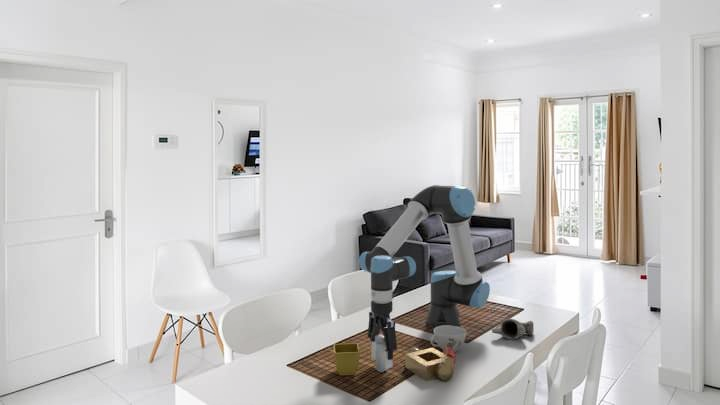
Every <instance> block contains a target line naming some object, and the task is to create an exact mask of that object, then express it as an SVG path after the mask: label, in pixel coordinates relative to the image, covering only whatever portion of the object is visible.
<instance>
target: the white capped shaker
mask: <svg viewBox="0 0 720 405" xmlns="http://www.w3.org/2000/svg"><path fill="white" fill-rule="evenodd" d="M375 342H376V359H375V371H376V370H377V372H378V371H380V372H379V373H385V372H384V371H386V372H388V371H389V368H388V369H385V350H386V345H385V341H384V336H383V333H382V334H380V333H379V335H376V336H375ZM387 370H388V371H387Z"/></svg>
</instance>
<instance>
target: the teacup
mask: <svg viewBox="0 0 720 405" xmlns="http://www.w3.org/2000/svg"><path fill="white" fill-rule="evenodd" d="M467 332H468V331H467V329H466V328H465V327H462V326H451V325H443V326H438V327H434V329H433V335H431V337H430V345H432V346H433V348H435V347H436V348H437V347H438V348H440V349H441V350H442V352H443V351H444V349H447V348H450V349H452V350H453V352H454V353H456V352H458V350H459V349H461V347H462V346H463V345H464V343H465V340H466V337H467ZM434 339H435V341H436V344H435V343H434V342H433V340H434Z"/></svg>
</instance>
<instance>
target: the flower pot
mask: <svg viewBox="0 0 720 405" xmlns="http://www.w3.org/2000/svg"><path fill="white" fill-rule="evenodd" d="M332 345H333V356H334V362H335V368H336V372H337V373H338V375H339V376H341V375H342V376H354V375H356V373H357V371H358V368H359V364H360V355H361V354H360V351H361V350H360V347H359V343H357V342H356V343H355V342H354V343H353V342H351V343H335V344H334V343H333V344H332Z"/></svg>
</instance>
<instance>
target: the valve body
mask: <svg viewBox="0 0 720 405" xmlns="http://www.w3.org/2000/svg"><path fill="white" fill-rule="evenodd" d="M404 358H405V360H404V361H405V362H404V363H405V364H404V365H405V367H404V368H405V369H407V370H408V371H409V372H411V373H413V374H415V375H416V376H418V377H419V378H421V379H422V380H424V381H430V380H432V379H433V380H434V379H435V378H438V379H440V380H442V381H444V382H449V381H450V380H451V379H452V378H453V375H454V371H455V370H454V368H455V367H454V366H455V364H456V362H457V361H456V360H457V358H456V354H455V352H453V350H452V349H450V348H447V349H444V351H443V350H442V352H441V351H440V350H438V349H436V348H435V347H429V348H425V349H419V348H418V347H415V346H412V347H410V348H409V349H408V350H407V353H405V355H404Z"/></svg>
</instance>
